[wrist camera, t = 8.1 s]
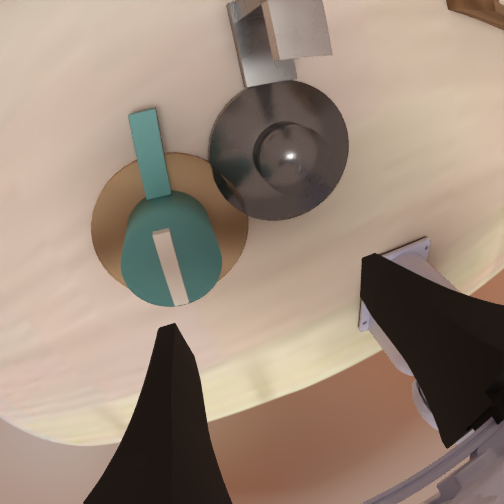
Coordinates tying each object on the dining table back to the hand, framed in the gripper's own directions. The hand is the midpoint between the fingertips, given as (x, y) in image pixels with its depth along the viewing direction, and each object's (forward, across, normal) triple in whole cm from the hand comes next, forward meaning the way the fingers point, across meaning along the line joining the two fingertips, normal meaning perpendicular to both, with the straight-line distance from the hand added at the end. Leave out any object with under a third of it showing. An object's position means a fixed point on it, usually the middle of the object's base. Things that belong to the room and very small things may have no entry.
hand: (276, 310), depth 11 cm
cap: (+9, +4, -2) cm, 10 cm away
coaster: (+10, +4, +1) cm, 11 cm away
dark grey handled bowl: (+10, -4, -5) cm, 12 cm away
